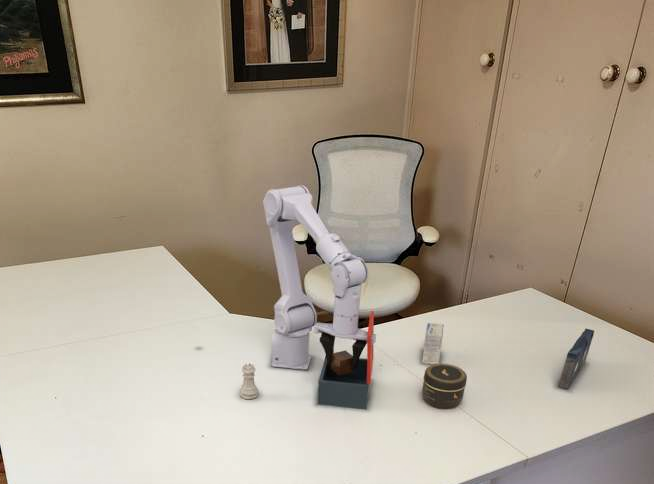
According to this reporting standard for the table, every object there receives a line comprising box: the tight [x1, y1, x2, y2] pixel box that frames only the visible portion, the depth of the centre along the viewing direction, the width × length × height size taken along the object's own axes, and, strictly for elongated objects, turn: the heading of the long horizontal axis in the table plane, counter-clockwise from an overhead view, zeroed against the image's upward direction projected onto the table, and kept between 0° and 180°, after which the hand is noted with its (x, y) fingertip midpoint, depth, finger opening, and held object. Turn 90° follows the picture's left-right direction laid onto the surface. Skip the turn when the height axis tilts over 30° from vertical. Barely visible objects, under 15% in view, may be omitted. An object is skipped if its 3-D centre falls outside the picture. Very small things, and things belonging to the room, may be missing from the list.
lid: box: [366, 310, 375, 386], centre depth 145 cm, size 12×14×1 cm
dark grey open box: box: [317, 354, 370, 410], centre depth 150 cm, size 12×14×6 cm
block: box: [331, 349, 353, 375], centre depth 148 cm, size 4×4×4 cm
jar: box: [421, 363, 468, 410], centre depth 149 cm, size 10×10×8 cm
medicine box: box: [421, 322, 444, 365], centre depth 167 cm, size 8×4×9 cm, turn 168°
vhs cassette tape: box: [558, 328, 595, 390], centre depth 161 cm, size 18×3×10 cm, turn 145°
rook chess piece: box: [239, 363, 259, 401], centre depth 147 cm, size 4×4×8 cm
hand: (342, 365), depth 148 cm, fingers closed on block, 5 cm apart
